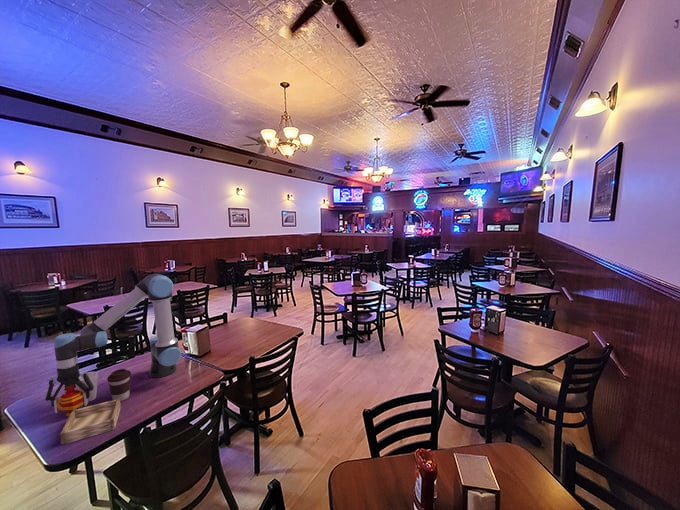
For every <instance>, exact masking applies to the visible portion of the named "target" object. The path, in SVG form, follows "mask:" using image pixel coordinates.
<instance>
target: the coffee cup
mask: <svg viewBox="0 0 680 510" xmlns="http://www.w3.org/2000/svg"><path fill="white" fill-rule="evenodd" d="M131 372H132V371H131V370H128V369H126V368H120V369H117V370H114V371H112V372H111V373H110V375H108V376H107V378H106V379H107V382H108V383H109V384H108V385H109V390H110V395H111V399H112V401H113V400H116V399H119V398H120V402H122V401H123V402H124V401H125V400H127V399H128V398H129V397H130V395H131V394H130V390H131V374H132V373H131Z"/></svg>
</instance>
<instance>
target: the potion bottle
mask: <svg viewBox="0 0 680 510" xmlns="http://www.w3.org/2000/svg"><path fill="white" fill-rule="evenodd" d="M63 387H64V391H65V393H63V394H61V396H60V397H59V398H58V402H57V408H58V409H59V411H60V412H63V413H66V414H65V416H66V417H68V418H69V417H70V415H71V413H72V411H73V410H75V409H80V408H82V406H83V405H84V395H83V394H84V392H82V391H80V390H78V389H77V388H76V385H75V384H74V383H73V384H68V385H63Z"/></svg>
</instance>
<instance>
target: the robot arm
mask: <svg viewBox="0 0 680 510" xmlns="http://www.w3.org/2000/svg"><path fill="white" fill-rule="evenodd" d="M173 290H174V283H173V281H172V280H171V279H170V278H169V277H168V276H167V275H163V274H160V273H152V274H149V275H147V276H146V277H144V278H143V279H142V280H141V281H139V282H138V283H137V284H136V285H135V286H134V289H133V290H131V291H130V292H129V293H128V294H126V295H125V296H124V297H122V298H121V299H120V300H119V301H118V302H116V303H115V304H114V305H113V306H111V307H110V308H109V309H108V310H106V311H105V312H104V313H103V314H102V315H100V316H99V317H98V318H97V319H95V320H94V321H92V323H90V324H88V325H86V326H84V327H83V328H82V329H81V331H80V334H79V336H76V334H75V333H74V332H69V333H62V334H60V335H57V336H56V337H54V340H53V342H54V343H53V347H54V355H55V356H54V357H55V363H56V364H55V365H56V374H57V377H56V378H53V377H52V378H50V380H48V385H49V386H48V389H47V391H46V392H47V393H46V396H45V401H46V402H48V401H50V404H51V407H52V408H53V407H54V413H55V414H58V413H59V411H60V410H59V409H58V408H57V402H58V400H59V397H57V395H59V393H60V391H61V390H62V388H63V387H64V386H65V385H68V384H73V383H74V384H75V385H77V386H78V387H80V388H81V389H82V390H83V391H84V394H83V395H84V404H83V405H84V407H88V406H87V405H88V403H89V402H88V398H89V397H90V392H89V391H92V390H93V388H94V386H93V384H92V382H91V381H90V379H89V377H88V371H84V372H80V369H79V360H78V352H83V351H87V350H91V349H95V348H100V347H104V346H106V345H108V334H107V330H108V329H109V328H111V327H112V326H113V325H115V323H117V322H118V321H119V320H120V319H121V318H123V317H124V316H125V315H127V313H128V312H130V311H131V310H132V309H134V308H135V307H136V306H137V305H138V304H139V303H140V302H142V301H143V300H144V299H145V298H148V301H149V302H151V303H152V307H153V308H152V309H153V315H154V323H155V331H156V337H154V338H151V339H150V342H149V343H150V344H149V345H150V357H151V358H150V359H151V364H150V367H149V370H148V374H149V377H150V378H154V379H155V378H163V377H167V376H169V375H172V374H174V373H175V372H176V371H177V369H178V365H177V363H178V362H179V360H180V359H181V358H182V351H181V348H179V342H178V338H177V337H175V332H174V330H175V329H174V324H173V314H172V305H171V299H172V298H173ZM79 376H81V377H82V378H83V379H84V381H85V383H86V384H87V386H88V387H87V386H86V385H85V384H84V383H82V382H81V381H80V379H79ZM56 382H58V383H60V384H59V385H58V386H57V388H56V390H55V392H54V394H53V395H52V393H53V390H54V387H55V384H56Z"/></svg>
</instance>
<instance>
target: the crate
mask: <svg viewBox="0 0 680 510" xmlns="http://www.w3.org/2000/svg"><path fill="white" fill-rule="evenodd" d="M121 407H122V406H121V401H120V398H119V399H116V400H113V399H112V400H109V401H105V402H101V403H97V404H93V405H88V406H84V407H80V408H79V409H75V410H73V411H72V413H71V415H70V416H69V417H68V418H67V421H66V422H65V425H64V426H63V428H62V430H61V432H60V434H59V435H60V444H61V446H62V445H66V444H71V443H73V442H77V441H81V440H83V439H87V438H90V437H94V436H97V435H100V434H101V435H102V434H105V433H107V432H111V431H114V430H116V426H117V423H118V420H119V419H118V418H119V416H120V412H121Z"/></svg>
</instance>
